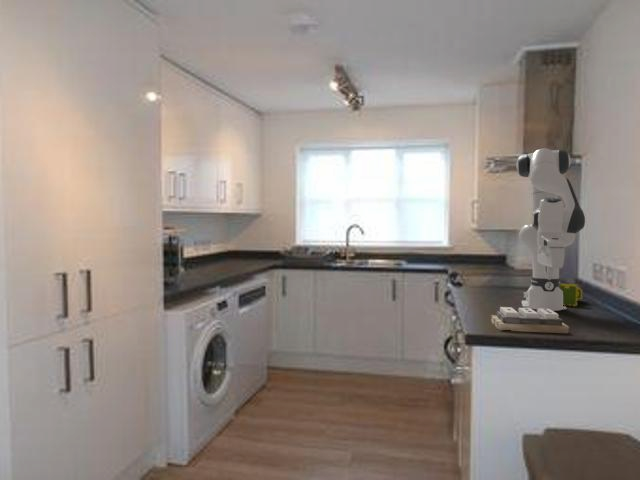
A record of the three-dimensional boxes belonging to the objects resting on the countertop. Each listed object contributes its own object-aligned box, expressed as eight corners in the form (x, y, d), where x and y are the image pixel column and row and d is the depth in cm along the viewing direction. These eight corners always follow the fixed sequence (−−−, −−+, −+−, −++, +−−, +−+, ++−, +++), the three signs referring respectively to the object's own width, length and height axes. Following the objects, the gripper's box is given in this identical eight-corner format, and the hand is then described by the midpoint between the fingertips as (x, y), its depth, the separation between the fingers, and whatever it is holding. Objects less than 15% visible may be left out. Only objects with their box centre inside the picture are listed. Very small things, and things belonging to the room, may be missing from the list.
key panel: (490, 321, 198) (491, 310, 198) (554, 323, 194) (554, 312, 194) (499, 330, 182) (499, 318, 182) (568, 333, 179) (568, 321, 178)
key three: (537, 313, 193) (537, 307, 193) (549, 313, 192) (549, 308, 192) (545, 319, 182) (545, 313, 182) (558, 319, 181) (558, 313, 181)
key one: (499, 312, 195) (499, 306, 195) (511, 312, 194) (511, 306, 194) (505, 317, 184) (506, 311, 184) (518, 318, 183) (518, 312, 183)
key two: (518, 312, 194) (518, 307, 194) (530, 313, 193) (530, 307, 193) (525, 318, 183) (525, 312, 183) (538, 319, 182) (538, 313, 182)
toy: (573, 281, 262) (586, 285, 233) (573, 301, 261) (586, 307, 233) (538, 280, 266) (547, 283, 238) (538, 299, 266) (547, 304, 237)
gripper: (533, 239, 196) (532, 274, 197) (549, 242, 176) (548, 280, 177) (550, 239, 195) (549, 274, 196) (568, 242, 175) (566, 281, 176)
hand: (548, 277), depth 186 cm, fingers closed
